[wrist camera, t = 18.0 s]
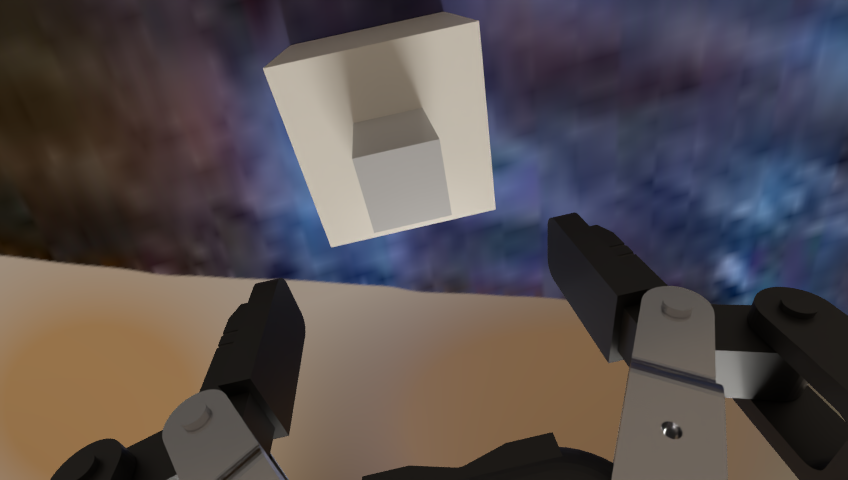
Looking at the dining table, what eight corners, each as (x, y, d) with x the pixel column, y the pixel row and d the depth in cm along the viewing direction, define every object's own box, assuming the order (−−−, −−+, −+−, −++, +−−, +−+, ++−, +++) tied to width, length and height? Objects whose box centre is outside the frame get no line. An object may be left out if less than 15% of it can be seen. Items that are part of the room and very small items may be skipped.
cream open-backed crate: (443, 11, 26) (514, 30, 14) (463, 157, 31) (524, 256, 20) (290, 45, 25) (234, 92, 14) (337, 186, 31) (325, 302, 19)
